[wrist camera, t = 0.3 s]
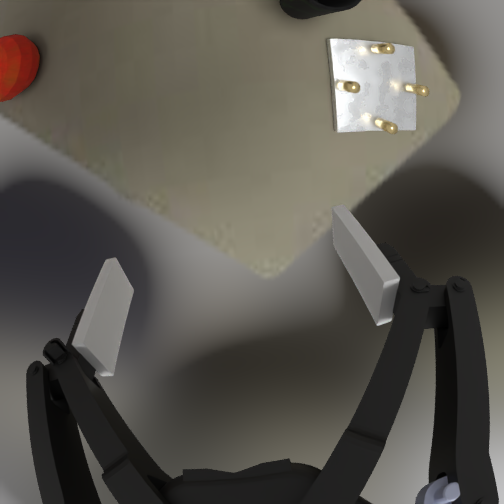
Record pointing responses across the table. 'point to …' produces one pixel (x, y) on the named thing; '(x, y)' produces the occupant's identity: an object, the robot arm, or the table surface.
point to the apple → (16, 65)
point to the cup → (315, 7)
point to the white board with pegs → (373, 85)
